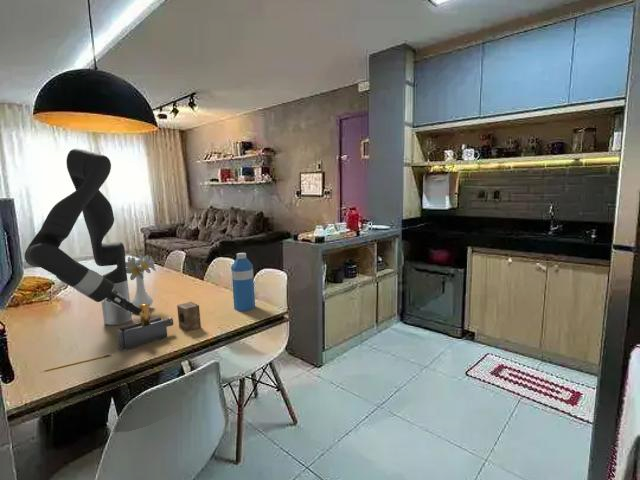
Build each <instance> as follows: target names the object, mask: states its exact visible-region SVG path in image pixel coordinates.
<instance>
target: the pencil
mask: <svg viewBox="0 0 640 480" xmlns="http://www.w3.org/2000/svg"><path fill="white" fill-rule="evenodd" d="M112 356H113V354H112V353H111V354H106V355H102V356H98V357H95V358H91V359H87V360H86V359H85V360H82V361H78V362H77V361H76V362H73V363H69V364H64V365H61V366H57V367H53V368H48V369H45V370H43V371H40V372H39V373H46V372H50V371H53V370H54V371H55V370H58V369H61V368H62V369H63V368H67V367H70V366H74V365H79V364H83V363H87V362H91V361H95V360H100V359H104V358H108V357H112Z"/></svg>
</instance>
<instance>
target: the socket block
mask: <svg viewBox="0 0 640 480" xmlns="http://www.w3.org/2000/svg"><path fill="white" fill-rule="evenodd" d="M176 308H177V317H178V318H177V319H178V327H179V329H181V330H183V331H185V332H190V331H193V330H197V329H200V328H202V325H201V323H202V322H201V310H200V305H199V304H197V303H195V302H193V301H188V302H185V303H180V304H177V305H176Z"/></svg>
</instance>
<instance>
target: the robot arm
mask: <svg viewBox="0 0 640 480" xmlns="http://www.w3.org/2000/svg"><path fill="white" fill-rule="evenodd" d="M66 169H67V173H68V175H69V176H70V177H69V178H70V180H71V182H72V184H73V186H74V189H75V190H74V192H72V193H71V194H69V195H67V196H66V197H64V198H63V199H61V200H60V201H58V202H57V203H56V204H55V205H54V206H53V207H52V208H51V210H50V211H49V213H48V215H47V216H46V218H45V220H44V221H43V223H42V225H41V228H40V229H39V231H37V234H35V236H34V237H33V239H32V240H31V242H30V243H29V244H28V246H27V248H26V250H25V252H24V260H25V262H26V264H28V265H29V266H31V267H34V268H41V269H43V270H45V271H46V272H48V273H50V274H52V275H54V276H55V278H57V279H58V280H59V281H61V283H65V284H66V285H67V286H70V287H71V288H72V289H74V290H75V291H76V292H79V293H80V294H82V295H84V296H85V297H87V298H89V299H91V300H92V301H94V302H96V303H100V302H101V308H102V309H101V310H102V317H103V324H104V325H107V326H117V325H118V326H120V325H123V324H126V323H129V322H131V321H132V319H133V317H132V314H134V315H136V316H140V312H141V311H142V310H141V309H139V308H138V307H136V306H134V305H133V303H130V302H131V299H130V298H131V297H130V291H129V282H128V281H129V280H128V273H126V268H127V267H126V262H127V261H126V249H125V245H124V243H123V242H121V241H117V242H103V240H104V238H105V237H106V236H107V234H108V233H109V232H110V230H111V229H112V228H113V225H114V223H115V217H114V215H115V214H114V212H113V211H114V210H113V207H112V204H111V203H110V201H109V199H108V198H107V197H106V196H105V195H104V194H103V193H102V192H101V191H100V189H101V187H103V184H104V183H105V182H106V180H107V179H108V177H109V175H110V173H111V169H112V163H111V159H110V158H109V157H108V156H106V155H104V154H101V153H97V152H95V151H90V150H87V149H83V148H73V149H71V150H70V151H69V152H68V154H67V156H66ZM81 214H82V216H83V218H84V219H83V220H84V222H85V225H86V229H87V232H88V234H89V239H90V244H91V250H92V255H93V260H94V262H95V264H96V265H97V266H98V267H110V266H116V268H115V269H113V270H111V271H110V272H107V273H105V274H103V275H102V274H100V273H99V272H96V271H95V270H92V269H91V268H89V267H87V266H85V265H83V264H82V263H80V262H78V261H76V260H75V259H73V258H72V257H71V256H70V255H69V254H67V252H65V251H63V250H62V249H61V248H60V246H61V244H62V243H63V241H65V240H66V239H67V238H68V237H69V236H70V234H71V232H72V230H73V228H74V226H75V224H76V222H77V220H78V219H79V217H80V216H81Z"/></svg>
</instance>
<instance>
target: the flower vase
mask: <svg viewBox="0 0 640 480" xmlns="http://www.w3.org/2000/svg"><path fill="white" fill-rule="evenodd" d="M138 256H139V259H136V258H135V257H134V256H131V257H130V256H128V257H127V261H125V262H126V273H127V275H129V274H131V275H130V276H129V278H130V280H131V281H133V280H134V281H135V280H136V281H135V282H136V292H135V294H134V296H133V297H132V298H131V299H130V303H133V305H134V306H136V307H138V308H139V305H140V304H143V303H148V304H149V309H150V308H151V306H152V305H153V303H154V300H153V298H152V296H151V295H149V294H148V293H147V291H146V288H145V280H144V278H145V276H144V273H145V272H146V273H147V274H151V269H152V270H153V271H154V272H157V270H156V268H155V260H153V259H152V258H153V257H152V256H149V255H148V254H147V255H146V254H145V256H143V254H141V253H139V254H138Z"/></svg>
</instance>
